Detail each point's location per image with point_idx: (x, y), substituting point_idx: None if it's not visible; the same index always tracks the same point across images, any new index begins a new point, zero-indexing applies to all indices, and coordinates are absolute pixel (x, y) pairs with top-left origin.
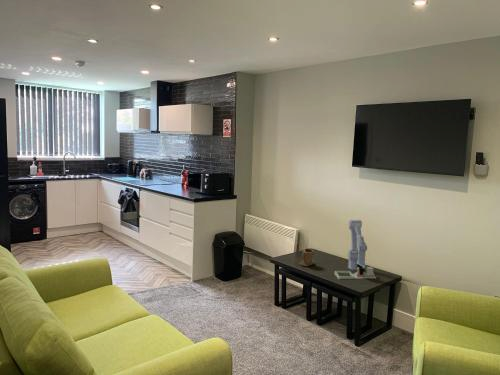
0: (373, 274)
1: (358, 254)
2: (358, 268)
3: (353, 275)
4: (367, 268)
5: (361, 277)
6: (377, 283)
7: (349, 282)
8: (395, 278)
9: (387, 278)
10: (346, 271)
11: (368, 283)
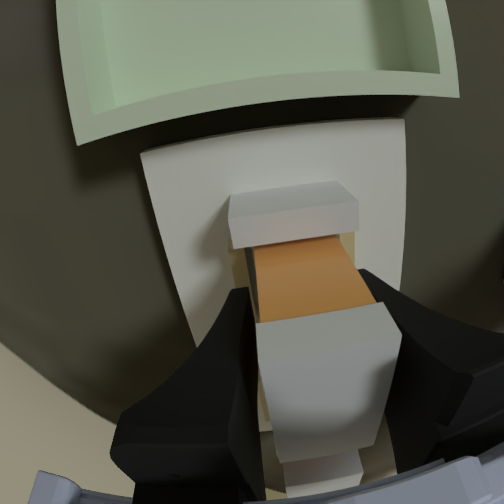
0: (275, 444)
1: None
2: (261, 362)
3: (156, 119)
4: (288, 487)
5: (212, 282)
6: (107, 403)
7: (3, 56)
8: (280, 491)
9: (275, 471)
10: (430, 14)
11: (57, 325)
